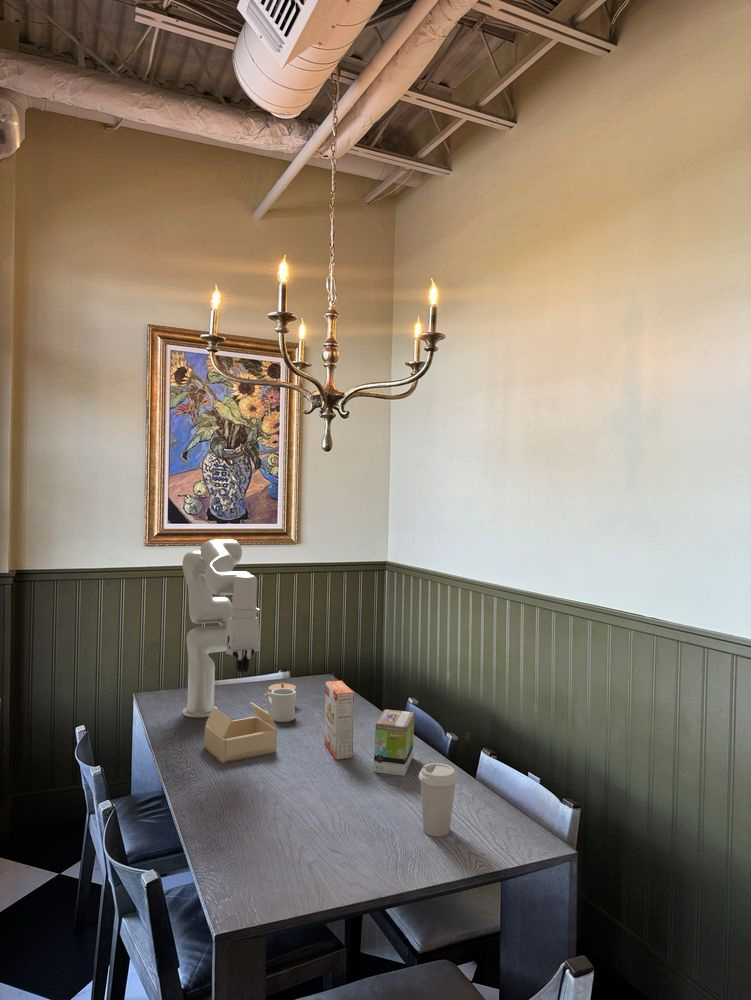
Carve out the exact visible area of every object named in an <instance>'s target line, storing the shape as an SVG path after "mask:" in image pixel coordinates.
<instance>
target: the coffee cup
mask: <svg viewBox="0 0 751 1000" xmlns="http://www.w3.org/2000/svg"><path fill="white" fill-rule="evenodd" d="M418 780H419V781H420V794H421V810H422V812H421V813H422V814H421V815H422V827H423V828H422V829H423V832H424V833H425V834H427V835H428V836H431V837H437V838H438V837H439V838H440V837H446V836H447V835H449V833H450V832H451V822H452V814H453V806H454V805H453V803H454V797H455V790H456V789H455V787H456V783H457V782H458V775H457V773H456V772H455V768H453V767H452V766H451V765H449V764H444V763H440V762H433V763H427V764H425V765H423V766H422V767H421V770H420V771H419V774H418Z"/></svg>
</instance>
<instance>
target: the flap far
mask: <svg viewBox="0 0 751 1000" xmlns="http://www.w3.org/2000/svg"><path fill="white" fill-rule="evenodd" d="M249 704H250V706H251V707H252V709H253V712H254V713H255V715H256V717H258V718H260V719H261V720H263V721H264V722H266V723H267V724H269V725H270V726H272V727H273V728H275V729H277V725H276V723H275V721H273V720H272V718H271V716H270V714H271V713H268V712H266V711H265V710H263V709H262V708H261V707H260V706H258V705H256V704H255V703H253V702H252V701H249Z"/></svg>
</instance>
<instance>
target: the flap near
mask: <svg viewBox="0 0 751 1000" xmlns="http://www.w3.org/2000/svg"><path fill="white" fill-rule="evenodd" d="M232 721H233V720H232V719H231V718H230V717H229V716H227V715H225V714H224V713H223V712H221V711H220V710H219V709H218V710H217V709H216V708H214V709H213V711H212V712H211V714H210V716H209V717H207V720H206V722H205V726H206V725H208V726H209V727H210V728H211V729H213V730H214V731H215V732H216V733H218V734H219V735H220V736H221V737H224V736H225V734H226V732H227V730H228V728H229V726H230V724H231V722H232Z"/></svg>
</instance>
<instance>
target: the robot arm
mask: <svg viewBox="0 0 751 1000" xmlns="http://www.w3.org/2000/svg"><path fill="white" fill-rule="evenodd" d="M242 554H243V549H242V547H241V544H240V543H239V542H238V541H237V540H236V539H235V540H234V539H210V540H207V541H205V542H204V543H202V545H201V546H200V550H192V551H189V552H187V553H185V555H184V556H183V558H182V570H183V571H182V572H183V575H184V578H185V581H186V583H187V587H188V609H189V618H190V621H191V622H192V623H194V624H215V623H218V624H219V625H215V626H214V625H213V626H200V627H199V626H198V627H195V628H192V629H190V630H189V631H188V632H187V635H186V648H187V660H188V661H187V665H188V668H187V706H186V707H184V708H183V709H182V715H183V716H185V717H187V718H193V719H195V718H196V719H197V718H209V716H210V714H211V712H212V711H213V709H214V708H216V709H217V710H219V709H218V707H217V706H216V705H215V704H214V703H215V676H216V674H215V673H216V672H215V670H216V666H215V662H214V660H213V659H212V658H211V657H210V656H209V654H212V653H219V652H220V653H221V652H222V653H223V652H225V654H227V655H230V656H233V657H234V658H235V662H236V664H235V666H236V671H237V672H239V673H241V674H242V673H243V672H244V673H248V672H249V671H248V670H249V668H250V659H251V658H252V655H254V654H255V653H256V652H259V651H260V650H261V647H260V645H261V644H260V643H261V634H260V633H261V632H260V624H259V618H258V617H257V614H260V612H261V610H260V608H257V593H258V592H257V591H258V589H257V588H258V587H257V586H258V579H257V577H256V576H255V575H253V574H251V572H250V571H249V572H248V571H243V570H241V571H233V570H234V568H235V567H236V566H237V564H238V563H240V560H241V559H242V556H243V555H242ZM213 595H214V596H213ZM231 595H232V597H231V600H232V602H231V600H230V598H228V597H226V596H231ZM243 651H244V652H243ZM242 652H243V653H242Z"/></svg>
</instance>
